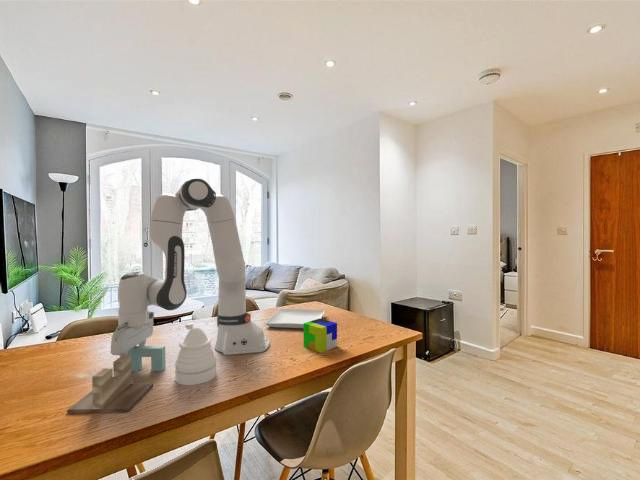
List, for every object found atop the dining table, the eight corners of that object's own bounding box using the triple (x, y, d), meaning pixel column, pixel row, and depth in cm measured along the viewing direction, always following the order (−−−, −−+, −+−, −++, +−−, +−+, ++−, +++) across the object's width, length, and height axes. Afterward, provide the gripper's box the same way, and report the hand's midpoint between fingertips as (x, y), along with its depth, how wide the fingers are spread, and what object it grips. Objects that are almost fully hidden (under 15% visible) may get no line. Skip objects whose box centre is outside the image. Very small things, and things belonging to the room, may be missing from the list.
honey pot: (175, 388, 99) (174, 331, 98) (175, 371, 111) (175, 320, 110) (218, 380, 104) (217, 326, 103) (214, 364, 116) (213, 316, 115)
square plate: (278, 314, 184) (278, 308, 184) (325, 316, 180) (325, 309, 180) (264, 329, 157) (264, 321, 157) (318, 332, 153) (318, 324, 153)
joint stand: (153, 386, 100) (152, 355, 100) (128, 412, 86) (127, 375, 86) (101, 387, 99) (100, 355, 99) (67, 413, 85) (66, 376, 85)
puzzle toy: (337, 346, 134) (337, 323, 134) (320, 353, 127) (321, 328, 127) (319, 340, 141) (319, 318, 141) (303, 346, 134) (303, 323, 133)
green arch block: (165, 367, 113) (165, 345, 113) (162, 371, 111) (161, 348, 110) (131, 368, 113) (130, 346, 112) (127, 371, 110) (126, 348, 110)
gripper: (124, 328, 101) (125, 371, 101) (156, 311, 121) (156, 347, 122) (104, 328, 101) (105, 371, 101) (139, 311, 121) (139, 347, 122)
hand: (133, 357), depth 112 cm, fingers open, 8 cm apart
